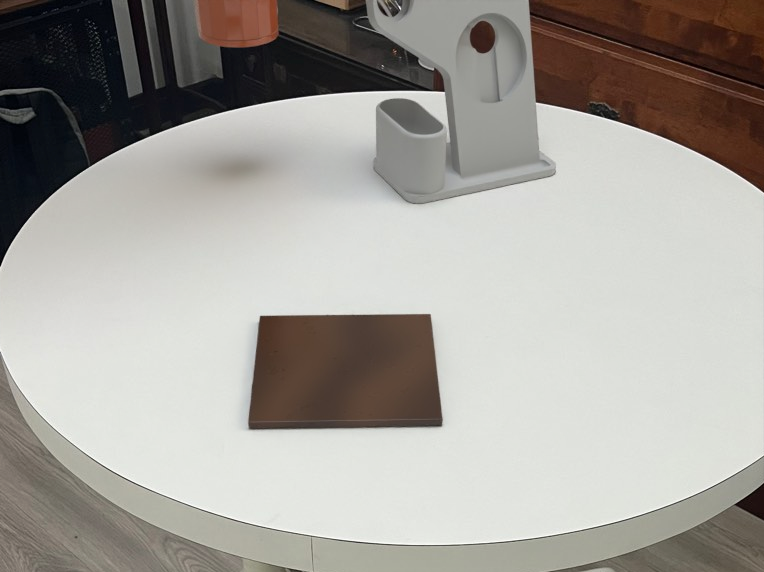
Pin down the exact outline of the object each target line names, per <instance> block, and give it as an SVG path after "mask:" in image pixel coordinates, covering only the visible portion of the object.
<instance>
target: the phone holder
mask: <svg viewBox="0 0 764 572" xmlns="http://www.w3.org/2000/svg"><path fill="white" fill-rule="evenodd" d="M365 5H366V14H367V18H368V22H369V24H370V25H371V27H372V29H374V30H375V31H376V32H378V33H380V34H381V35H383V36H384V37H385V38H387V39H389V40H390V41H392V42H393V43H395V44H396V45H398V46H400V47H401V48H403V49H404V50H406V51H407V52H409V53H410V54H412V55H414V56H415V57H416V58H418V59H420V60H422V61H423V62H425V63H426V64H427V65H429V66H431V67H432V68H434V69H435V70H437V71H438V72H439V73H440V75H441V77H442V79H443V87H444V97H445V106H446V116H447V126H448V129H447V126H446V125H445V124H444V123H443V122H442V121H440V119H438V118H437V117H436V116H435V115H434V114H432V113H431V112H430V111H429V110H428V109H426V108H425V107H423V106H422V105H421V104H420V103H419V102H417V101H415V100H413V99H408V98H403V97H402V98H400V97H395V98H388V99H384V100H382V101H380V102H379V103H377V105H376V108H375V158H374V159H373V170H374V172H376V173H377V174H378V175H379V176H380V177H381V178H382V179H383V180H384V181H385V182H386V183H388V184H389V185H390V187H392V189H394V191H396V192H397V193H398V194H399V196H400V197H402V198H403V199H404V200H405V201H406V202H409V203H411V204H426V203H431V202H434V201H435V202H436V201H440V200H444V199H449V198H453V197H458V196H459V197H460V196H463V195H468V194H471V193H472V194H473V193H477V192H481V191H486V190H491V189H496V188H500V187H506V186H510V185H514V184H519V183H524V182H528V181H533V180H537V179H543V178H547V177H551V176H553V175H555V174H556V168H557V163H556V162H555V161H554V160H553V159H552V158H550V157H549V156H548V155H546V154H545V153H544V152H542V151H541V150H540V141H539V140H540V139H539V127H538V113H537V112H538V111H537V100H536V87H535V85H536V84H535V70H534V57H533V43H532V30H531V29H532V28H531V15H530V14H531V13H530V2H529V0H402V3H401V7H400V10H399V12H398V13H397V14H396V15H394V16H387V15H385V14H384V13H383V12H382V11H381V10H380V8H379V5H378V0H365ZM480 22H487V23H488V24H489V25H490V26H491V27H492V29H493V32H494V36H495V37H494V43H493V46H492V47H491V49H490V50H489V51H487V52H485V53H481V52H478V51H477V49H476V48H475V47H473V45H472V43H471V32H472V29H473V28H475V26H476V25H477V24H478V23H480ZM447 133H448V134H449V141H448V142H447V136H448V134H447Z"/></svg>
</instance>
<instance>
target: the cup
mask: <svg viewBox="0 0 764 572" xmlns="http://www.w3.org/2000/svg"><path fill="white" fill-rule="evenodd" d="M193 5H194V15H195V22H196V23H195V24H196V30H197V33H198V37H199V39H201V41H203V42H204V43H207V44H210V45H213V46H216V47H224V48H250V47H258V46H261V45H262V46H263V45H264V44H265V45H266V44H268V43H270V42H273V41H274V40H276V39H277V38H278V37H279V34H280V29H279V25H280V22H279V21H280V20H279V8H278V7H279V6H278V0H193Z"/></svg>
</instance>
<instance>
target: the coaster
mask: <svg viewBox="0 0 764 572" xmlns="http://www.w3.org/2000/svg"><path fill="white" fill-rule="evenodd" d="M434 340H435V339H434V332H433V323H432V314H431V313H389V314H388V313H387V314H386V313H385V314H382V313H381V314H375V313H374V314H291V315H284V314H283V315H281V314H280V315H259V319H258V328H257V339H256V348H255V357H254V365H253V373H252V374H253V375H252V384H251V393H250V402H249V411H248V421H247V425H248V429H292V428H293V429H298V428H299V429H305V428H308V429H310V428H312V429H313V428H369V427H370V428H371V427H379V428H380V427H439V426H440V427H441V426H443V421H444V420H443V419H444V418H443V412H442V411H443V410H442V402H441V401H442V400H441V393H440V383H439V376H438V365H437V358H436V357H437V356H436V349H435V348H436V347H435V341H434Z"/></svg>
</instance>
